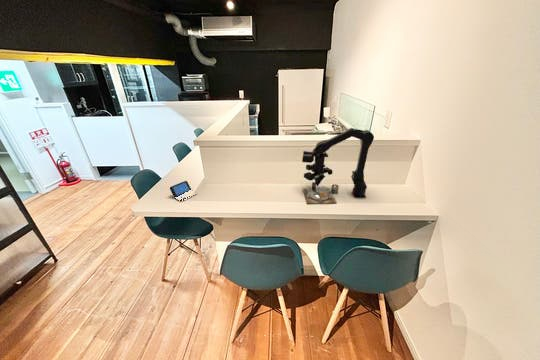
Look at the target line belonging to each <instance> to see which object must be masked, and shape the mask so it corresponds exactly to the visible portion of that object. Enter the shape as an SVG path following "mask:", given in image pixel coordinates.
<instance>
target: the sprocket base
mask: <svg viewBox="0 0 540 360" xmlns="http://www.w3.org/2000/svg"><path fill="white" fill-rule="evenodd" d="M307 189H308V188H303V189H302V192H303V195H304V199H305V201H306V205H337V201H336V199H335V197H334V194H332V193H331V196H332V199H328V200H325V201H322V202H318V201H317V200H313V199H311V198H307V192H306V191H307ZM326 189H327V190H330V191H331V188H326Z"/></svg>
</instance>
